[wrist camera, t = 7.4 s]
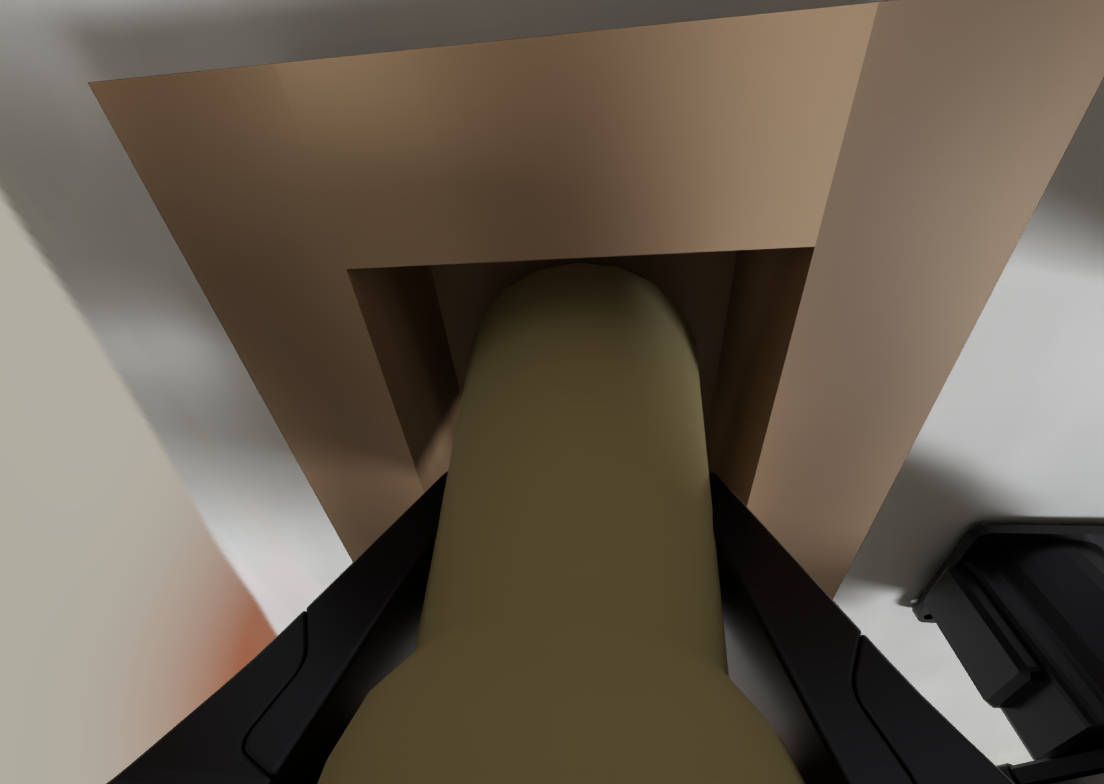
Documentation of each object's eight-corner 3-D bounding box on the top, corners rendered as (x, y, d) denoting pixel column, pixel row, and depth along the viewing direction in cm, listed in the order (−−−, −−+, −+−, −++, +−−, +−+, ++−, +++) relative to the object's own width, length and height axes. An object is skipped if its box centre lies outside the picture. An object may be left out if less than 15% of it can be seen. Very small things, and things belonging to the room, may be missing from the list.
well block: (910, 16, 9) (1156, -26, 5) (770, 487, 17) (824, 614, 13) (279, 78, 11) (87, 82, 7) (421, 485, 19) (373, 598, 15)
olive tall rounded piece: (428, 310, 11) (-190, 1189, 2) (666, 223, 10) (1546, 2049, 1) (525, 472, 14) (411, 1119, 6) (717, 427, 13) (1002, 1253, 4)
